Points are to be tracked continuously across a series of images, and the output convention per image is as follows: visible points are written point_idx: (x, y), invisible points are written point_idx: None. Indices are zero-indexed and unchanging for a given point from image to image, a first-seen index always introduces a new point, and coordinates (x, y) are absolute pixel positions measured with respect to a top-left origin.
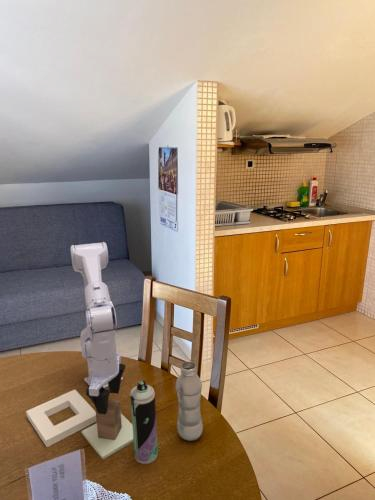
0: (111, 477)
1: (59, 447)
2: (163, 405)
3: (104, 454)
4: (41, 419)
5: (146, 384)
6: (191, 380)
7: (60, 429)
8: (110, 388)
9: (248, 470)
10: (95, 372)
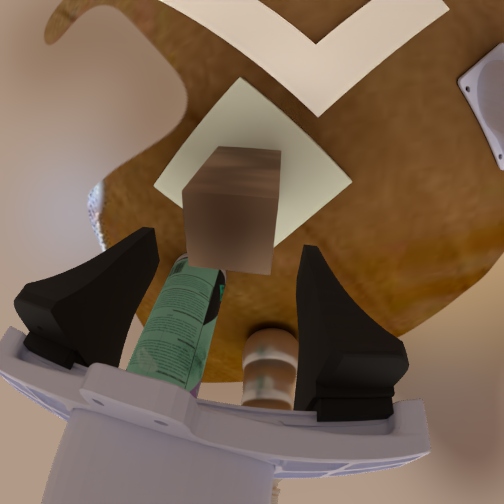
0: (122, 218)
1: (172, 37)
2: (374, 288)
3: (161, 188)
4: None
5: None
6: None
7: (213, 11)
8: (305, 263)
9: (212, 382)
10: (63, 434)
